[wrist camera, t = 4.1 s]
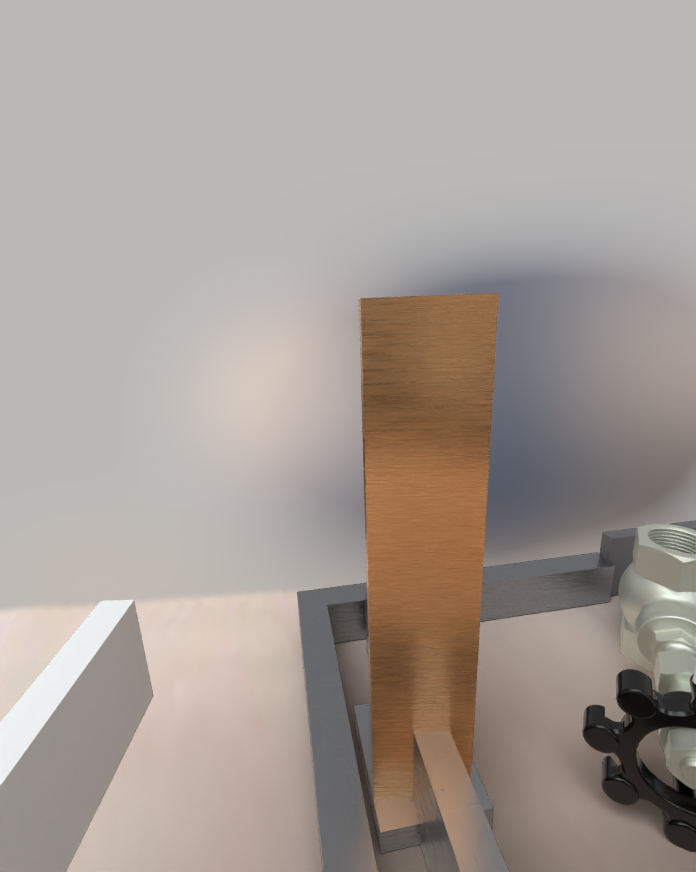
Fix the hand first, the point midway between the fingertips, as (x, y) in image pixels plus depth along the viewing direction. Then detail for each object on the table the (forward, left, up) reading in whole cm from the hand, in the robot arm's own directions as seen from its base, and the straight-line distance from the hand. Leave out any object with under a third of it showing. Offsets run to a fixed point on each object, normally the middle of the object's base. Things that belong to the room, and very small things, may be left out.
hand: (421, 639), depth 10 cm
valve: (+5, -13, -11) cm, 18 cm away
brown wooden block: (+5, -1, -10) cm, 11 cm away
